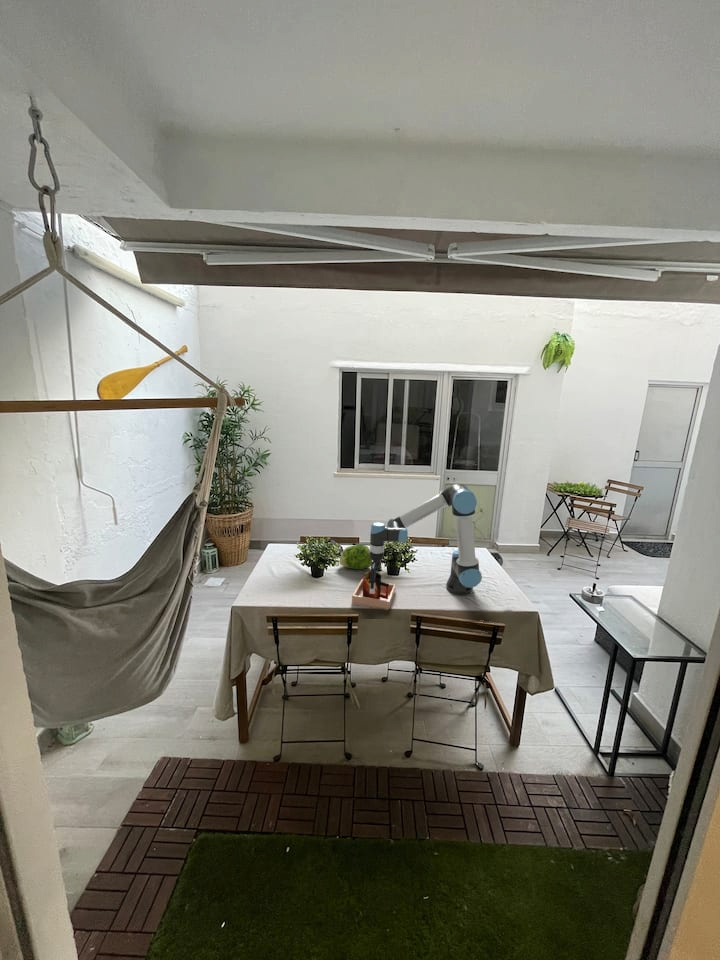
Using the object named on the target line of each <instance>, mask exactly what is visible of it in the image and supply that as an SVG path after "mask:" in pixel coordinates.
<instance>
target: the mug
mask: <svg viewBox="0 0 720 960" xmlns="http://www.w3.org/2000/svg"><path fill="white" fill-rule="evenodd" d="M370 572H371V571H367V572H365V573H364V574H363V578H362V579H363V597H369V598H375V599H379V598H380V597H381V598H384V599H388V588H389V584H387V583H388V582H384V581H382V575H381V573H380V574H379V573H376V578H375V594H370V593H369V592H370V583H369V582H368V581H369V580H370ZM381 585H382V586H385V587H386V595H382V594H380V591H381Z"/></svg>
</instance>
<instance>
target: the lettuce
mask: <svg viewBox="0 0 720 960" xmlns="http://www.w3.org/2000/svg"><path fill="white" fill-rule="evenodd" d="M340 555H341V556H340ZM340 555H339V557H340V561H339V560H338V563H339V565H340V566H343V567H345V568H348V569H352V570H364V569H367V568H371V564H372V562H373V560H372V559H370V557H369V556H370V547H368V546H367V545H366V544H355V545H351V546H348V547H346V548H345V549H343V550H342V552H341V554H340Z"/></svg>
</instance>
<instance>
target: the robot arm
mask: <svg viewBox="0 0 720 960" xmlns="http://www.w3.org/2000/svg"><path fill="white" fill-rule="evenodd" d="M477 504H478V503H477V496H476V495H475V493H474V492H472V490H470V489H469V488H468V487H467V486H466V485H465V484H463V483H454V484H451V485H450V486H447V487H445V488H444V489H442V490H440V491H438V494H437V495H435V496H434V497H431V498H430V499H428V500H426V501H424V502H423V503H421V504H419V505H418V506H416V507H415V506H414V507H413V508H412V509H410V510H408V511H407V512H405V513H403V514H402V515H399V516H397V517H391V518H389V519H388V521H387V525H386V524H385V523H384V522H378V521H377V522H376V521H375V522H372V524H371V526H370V537H369V539H370V540H369V541H370V542H369V544H368V545H369V549H370V556H369V557H370V559H372V564H371V566H370V571H369V572H370V580H369V581H368V582H369V583H370V592H369V593H370V594H375V578H376V573H379V574H380V575H381V572H383V569H382V560H384V554H385V553H384V552H385V543H387V542H388V543H390V542H391V543H407V541H408V533H409V532H408V529H407V528H408V527H410V526H413V525H414V524H416V523H418V522H420V521H421V520H423V519H425V518H427V517H429V516H431V515H432V514H434V513H436V512H438V511H440V510H441V509H443V508H446V507H447V508H450V507H451V513H452V516H454V517H455V525H456V526H455V527H456V538H457V539H456V540H457V550H454V551H453V552H452V556H451V564H450V575H449V577H448V580H446V585H445V588H446V590H447V591H448V592H450V593H451V592H452V594H454V595H457V594H459V595H458V596H467V595H466V594H469V595H471V594H472V593H473V592H474V588H475V587H477V586H479V584H480V583H481V582H482V578H483V575H482V572H481V570H480V565H479V564H480V563H479V559H478V558H477V557H476V550H475V549H476V547H475V536H474V535H475V532H474V521H473V516H474V515H475V514H476V509H477V508H476V507H477ZM386 526H387V527H386ZM472 591H473V592H472ZM471 592H472V593H471ZM470 593H471V594H470Z"/></svg>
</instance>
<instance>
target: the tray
mask: <svg viewBox="0 0 720 960" xmlns="http://www.w3.org/2000/svg"><path fill="white" fill-rule="evenodd" d="M363 579H364V578H361V580H360V581H359V583H358V585H357V586H356V588H355V589H354V592H353V594H352V595H351V604H352V605H356V606H363V607H367V606H368V608H373V607H375V608H374V609H379V610H385V611H390V607H391V605H392V602H393V599H394V597H395V595H394V594H396V588H397V587H396V586H397V585H396V584H395V583H389V582H386V583H387V584H389V588H388V599H384V598H381V597H380V598H379V599H375V598H369V597H363ZM380 594H382V595H386V587H385V586H382V585H381V591H380Z"/></svg>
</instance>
